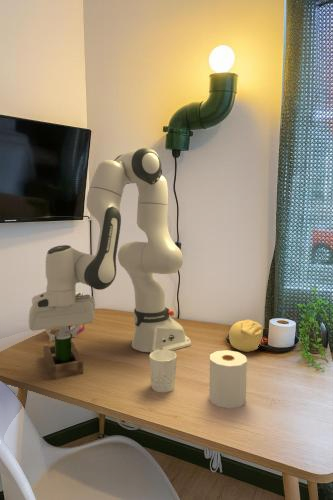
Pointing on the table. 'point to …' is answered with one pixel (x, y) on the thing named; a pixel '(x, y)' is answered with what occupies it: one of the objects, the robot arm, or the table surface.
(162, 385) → the white cup
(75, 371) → the shelf
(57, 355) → the beer can
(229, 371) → the toilet paper
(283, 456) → the table surface
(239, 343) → the sculpture
